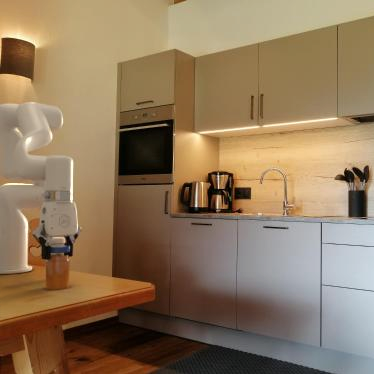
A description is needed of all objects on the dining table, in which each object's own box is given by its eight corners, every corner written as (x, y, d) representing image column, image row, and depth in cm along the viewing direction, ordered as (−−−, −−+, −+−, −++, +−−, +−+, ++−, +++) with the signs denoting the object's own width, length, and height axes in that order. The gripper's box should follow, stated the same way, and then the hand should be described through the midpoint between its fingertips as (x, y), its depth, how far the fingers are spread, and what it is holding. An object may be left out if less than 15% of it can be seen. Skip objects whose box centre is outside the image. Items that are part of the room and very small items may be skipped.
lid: (72, 252, 123) (72, 246, 123) (46, 253, 120) (46, 247, 120) (68, 249, 129) (68, 243, 129) (43, 250, 125) (43, 244, 125)
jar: (41, 287, 123) (41, 255, 123) (62, 284, 128) (63, 253, 128) (52, 290, 119) (52, 257, 119) (73, 287, 124) (74, 255, 124)
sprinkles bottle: (65, 278, 137) (66, 237, 138) (50, 280, 135) (51, 238, 135) (63, 276, 141) (63, 236, 141) (48, 278, 138) (48, 237, 139)
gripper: (40, 197, 115) (38, 262, 115) (91, 197, 130) (90, 255, 130) (23, 197, 119) (21, 260, 118) (74, 197, 134) (73, 253, 134)
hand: (57, 257), depth 124 cm, fingers closed on lid, 6 cm apart
